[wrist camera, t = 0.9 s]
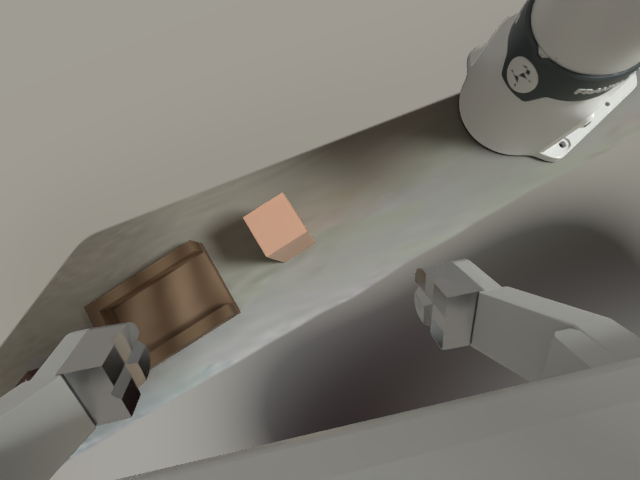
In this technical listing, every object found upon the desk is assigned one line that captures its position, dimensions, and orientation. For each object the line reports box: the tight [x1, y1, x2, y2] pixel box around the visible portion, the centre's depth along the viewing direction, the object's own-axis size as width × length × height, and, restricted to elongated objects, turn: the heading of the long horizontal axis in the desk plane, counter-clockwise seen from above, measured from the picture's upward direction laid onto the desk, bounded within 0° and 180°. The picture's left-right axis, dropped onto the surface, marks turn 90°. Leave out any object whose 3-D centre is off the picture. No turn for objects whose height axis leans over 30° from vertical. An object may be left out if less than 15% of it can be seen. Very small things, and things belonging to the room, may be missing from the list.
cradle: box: [84, 240, 241, 369], centre depth 41 cm, size 16×11×4 cm
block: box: [243, 192, 316, 262], centre depth 38 cm, size 5×5×10 cm
